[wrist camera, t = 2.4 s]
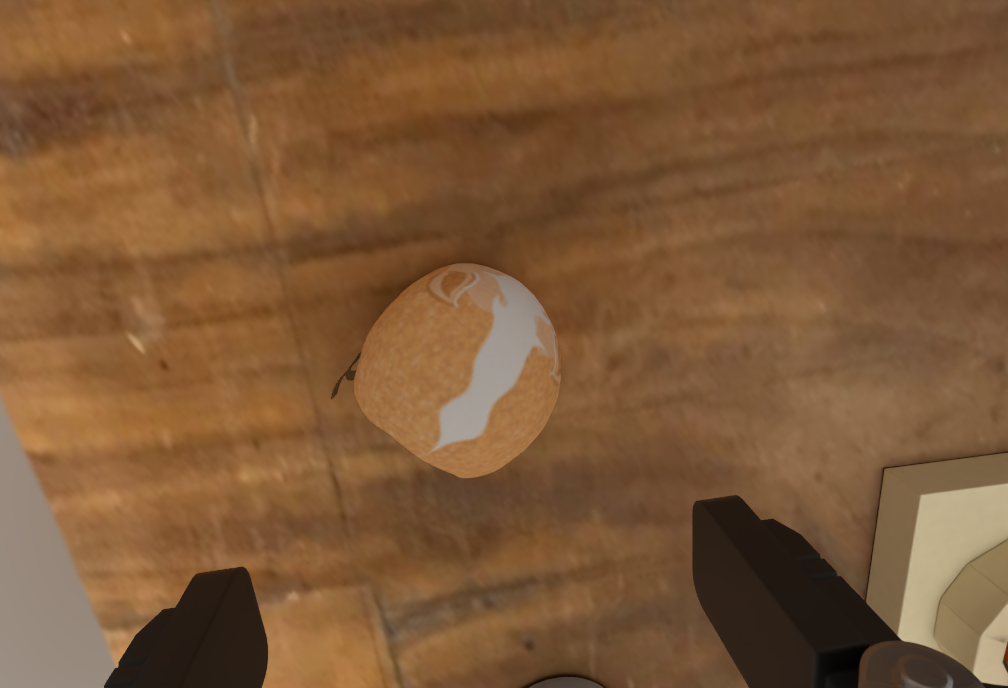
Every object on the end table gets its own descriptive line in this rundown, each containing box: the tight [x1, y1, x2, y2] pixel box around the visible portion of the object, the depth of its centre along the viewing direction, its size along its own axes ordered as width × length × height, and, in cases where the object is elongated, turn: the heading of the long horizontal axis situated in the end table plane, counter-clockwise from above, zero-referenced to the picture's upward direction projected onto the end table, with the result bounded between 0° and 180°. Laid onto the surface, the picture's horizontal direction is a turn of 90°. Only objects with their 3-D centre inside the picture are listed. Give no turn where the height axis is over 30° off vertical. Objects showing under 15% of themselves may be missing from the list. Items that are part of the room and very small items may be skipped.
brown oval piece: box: [331, 263, 562, 478], centre depth 19 cm, size 6×7×8 cm
